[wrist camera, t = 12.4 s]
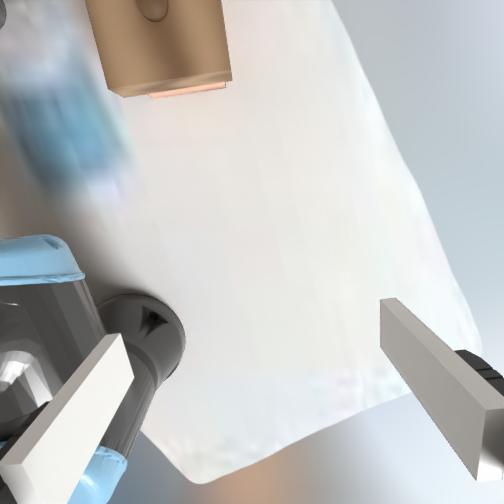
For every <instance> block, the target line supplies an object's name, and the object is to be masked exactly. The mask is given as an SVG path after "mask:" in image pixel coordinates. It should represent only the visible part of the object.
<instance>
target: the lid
mask: <svg viewBox="0 0 504 504" xmlns="http://www.w3.org/2000/svg"><path fill="white" fill-rule="evenodd" d="M85 2H86V6H87V10H88V13H89V17H90V21H91V25H92V29H93V33H94V37H95V41H96V45H97V48H98V52H99V56H100V60H101V64H102V68H103V72H104V76H105V80H106V83H107V87H108V89H109V90H111V91H113V92H114V93H116V94H118V95H120V96H122V97H124V98H125V97H132V96H138V95H145V94H151V93H157V92H164V91H170V90H177V89H183V88H189V87H196V86H202V85H209V84H215V83H222V82H228V81H232V74H231V67H230V60H229V52H228V45H227V38H226V31H225V24H224V17H223V10H222V3H221V0H85Z"/></svg>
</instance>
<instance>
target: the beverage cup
mask: <svg viewBox="0 0 504 504" xmlns="http://www.w3.org/2000/svg"><path fill="white" fill-rule="evenodd" d="M5 20H6V9H5V5H4V3H3V1H2V0H0V29H1V28H2V26H3V25H4V23H5Z"/></svg>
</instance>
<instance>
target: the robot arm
mask: <svg viewBox="0 0 504 504" xmlns="http://www.w3.org/2000/svg"><path fill="white" fill-rule="evenodd" d="M84 278H85V273H84V272H82V271H81V270H80V268H79V266H78V264H77V262H76V260H75V258H74V256H73V254H72V252H71V250H70V248H69V246H68V245H67V244H66V243H65V242H64V241H63V240H62V239H60V238H59V237H56V236H53V235H48V234H39V235H29V236H22V237H14V238H7V239H1V240H0V504H106V503H107V502H108V501H109V499H110V497H111V496H112V493H113V491H114V489H115V487H116V485H117V483H118V481H119V479H120V477H121V475H122V474H123V473H124V472H125V470H126V468H127V461H128V459H129V456H130V453H131V451H132V448H133V446H134V443H135V441H136V438H137V436H138V433H139V431H140V428H141V426H142V423H143V421H144V418H145V416H146V413H147V411H148V409H149V406H150V404H151V401H152V399H153V396H154V394H155V391H156V390H157V389H158V388H159V387H160V385H161V384H162V382H163V381H164V380H166V379H167V378H168V377H169V376H170V375H171V374H172V373H173V372H174V371H175V370H176V368H177V367H178V365H179V363H180V361H181V358H182V355H183V352H184V349H185V333H184V329H183V326H182V324H181V322H180V320H179V319H178V317H177V316H176V315H175V313H174V312H173V311H172V310H171V309H170V308H168V307H167V306H166V305H164V304H163V303H161V302H160V301H158V300H156V299H153V298H151V297H147V296H144V295H137V294H125V295H119V296H115V297H112V298H110V299H108V300H106V301H105V302H103V303H102V304H100V305H99V306H98V307H97V308H96V305H95V303H94V301H93V298H92V296H91V294H90V291H89V289H88V287H87V284H86V282H85V279H84ZM380 347H381V349H382V350H383V351H384V353H385V354H386V356H387V357H388V358H389V360H390V361H391V363H392V364H393V365H394V367H395V368H396V370H397V371H398V372H399V374H400V375H401V377H402V378H403V379H404V381H405V382H406V384H407V385H408V386H409V388H410V389H411V391H412V392H413V393H414V395H415V396H416V398H417V399H418V400H419V402H420V403H421V405H422V406H423V407H424V409H425V410H426V412H427V413H428V414H429V416H430V417H431V419H432V420H433V421H434V423H435V424H436V426H437V427H438V429H439V430H440V431H441V433H442V434H443V436H444V437H445V438H446V440H447V441H448V443H449V444H450V445H451V447H452V448H453V449H454V451H455V452H456V454H457V455H458V457H459V458H460V459H461V460H462V462H463V464H464V465H465V466H466V468H467V469H468V471H469V472H470V473H471V475H472V476H473V477H474V479H475V480H476V482H480V481H489V480H499V479H503V473H504V378H503V376H502V375H500V374H499V373H498V372H497V371H496V370H493V368H492V367H491V366H490V365H489V364H488V363H486V362H485V361H484V360H483V359H482V358H480V357H479V356H477V355H475V354H473V353H471V352H469V351H467V350H457V351H453V350H452V349H451V348H450V347H449V346H448V345H447V344H446V343H445V342H443V341H442V340H441V339H440V338H439V337H438V336H437V335H436V334H435V333H434V332H433V331H431V330H430V329H429V328H428V327H427V326H426V325H425V324H424V323H423V322H422V321H421V320H419V319H418V318H417V317H416V316H415V315H414V314H413V313H412V312H411V311H410V310H409V309H407V308H406V307H405V306H404V305H403V304H402V303H401V302H400V301H399V300H398V299H397V298H389V299H381V300H380Z"/></svg>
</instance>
